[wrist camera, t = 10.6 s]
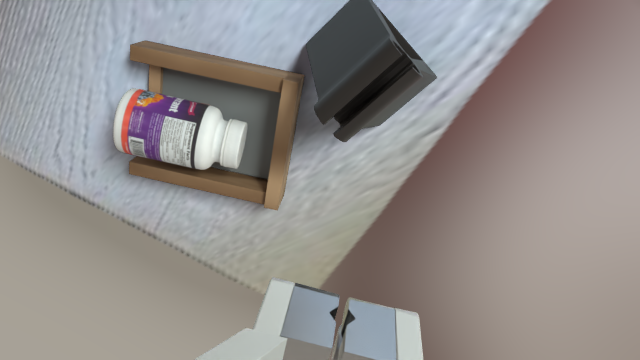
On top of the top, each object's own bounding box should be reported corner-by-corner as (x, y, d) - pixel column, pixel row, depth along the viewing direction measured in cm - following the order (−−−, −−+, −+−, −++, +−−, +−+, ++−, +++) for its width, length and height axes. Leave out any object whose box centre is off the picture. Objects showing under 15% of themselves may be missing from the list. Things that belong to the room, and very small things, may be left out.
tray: (144, 40, 39) (127, 45, 36) (304, 74, 38) (298, 82, 36) (142, 163, 44) (126, 176, 41) (284, 195, 43) (277, 210, 40)
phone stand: (306, 43, 37) (274, 73, 26) (362, -12, 35) (353, -4, 24) (379, 124, 39) (377, 183, 28) (437, 76, 37) (458, 121, 26)
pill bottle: (141, 85, 40) (252, 111, 41) (132, 145, 41) (240, 170, 42) (116, 87, 35) (244, 117, 36) (106, 156, 36) (231, 184, 37)
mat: (165, 61, 39) (163, 62, 39) (286, 88, 39) (286, 88, 39) (161, 153, 43) (159, 155, 43) (272, 178, 43) (271, 180, 42)
